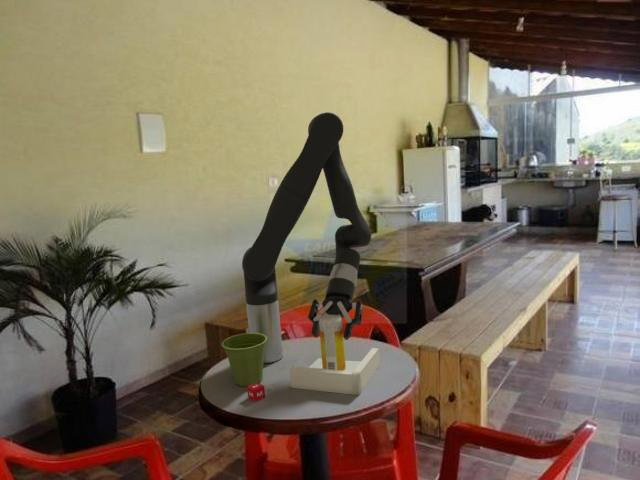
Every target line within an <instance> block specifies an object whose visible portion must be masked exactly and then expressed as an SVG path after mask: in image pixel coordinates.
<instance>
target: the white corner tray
mask: <svg viewBox="0 0 640 480" xmlns="http://www.w3.org/2000/svg"><path fill="white" fill-rule="evenodd" d="M345 365H346V368H345V370H344V371H341V370H330V369H323V366H322V357H318V358H317V359H316V360H315V361H314V362H313V363H312V364H310V366H308V367H307V366H297V365H296V366H295V365H293V366H291V367H289V375H290V378H289V379H290V387H291V388H292V389H297V390H298V389H299V390H300V389H301V390H307V391H308V390H309V391H310V390H311V391H318V392H326V393H328V392H329V393H336V394H345V395H354V396H360V395H361V393H362V392H363V391H364V389H365V388H366V386H367V385H368V384H369V382H370V381H371V379H372V378H373V376H374V375H375V373H377V371H378V370H379V368H380V366H381V361H380V349H379V347H378V348H376V347H372V348H370V350H369V351H368V353H367V354H366V355H365V356H364V357H363V359H362V360H361V361H358V360H357V361H356V360H346V359H345Z"/></svg>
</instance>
